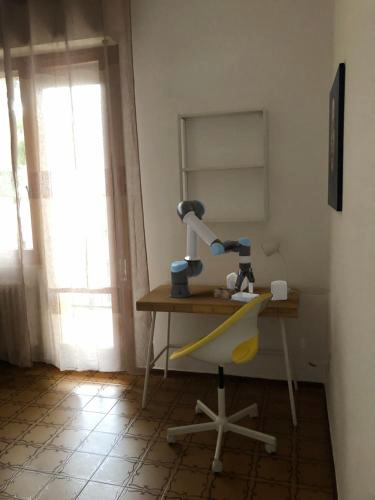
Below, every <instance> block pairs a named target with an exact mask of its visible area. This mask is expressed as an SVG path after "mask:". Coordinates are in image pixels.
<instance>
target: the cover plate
mask: <svg viewBox="0 0 375 500" xmlns="http://www.w3.org/2000/svg"><path fill="white" fill-rule="evenodd" d="M258 296H259V297H260V294H257V293H249V292H244V291H242V297H238V292H236V294H234V295H232V298H231V299H233V300H240V301H247V302H249V301H251V300H252V299H254V298H255V297H258Z"/></svg>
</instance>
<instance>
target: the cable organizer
mask: <svg viewBox="0 0 375 500" xmlns="http://www.w3.org/2000/svg"><path fill="white" fill-rule="evenodd" d="M237 275H238V274H237V273H236V272H231V273H229V274H227V276H226V277H225V278H226V288H231V289H237V287H236V286H235V284H236V280H237ZM247 286H248V278H247V277H245V278H244V280H243V283H242V285H241V287H242V292H244V290H246V288H247Z"/></svg>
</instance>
